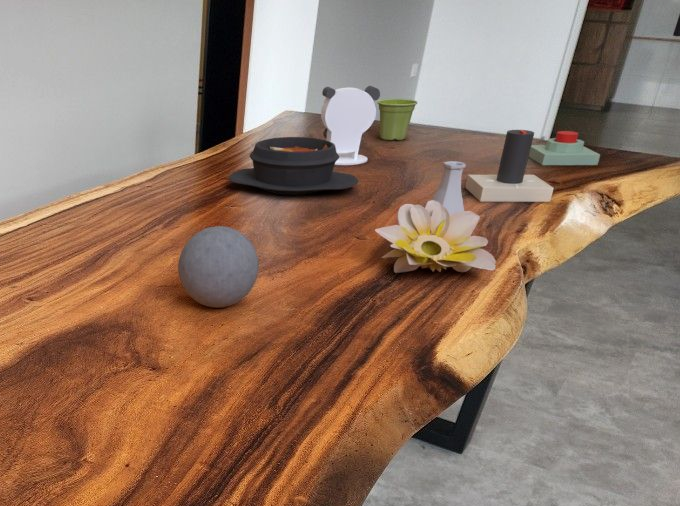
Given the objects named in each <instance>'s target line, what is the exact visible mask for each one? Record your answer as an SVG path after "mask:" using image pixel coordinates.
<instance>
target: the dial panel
mask: <svg viewBox="0 0 680 506" xmlns="http://www.w3.org/2000/svg"><path fill="white" fill-rule="evenodd" d="M497 175H498V174H467V177H466V182H465V186H464V187H465V189H466V190H467V191H468V192H469V193H470V194H471V195H472V196H473V197H475V198H476V200H478V201H479V202H483V203H484V202H485V203H486V202H489V203H491V202H492V203H493V202H494V203H551V200H552V196H553V192H554V189H555V188H554V187H553V186H552V185H550V184H549V183H547V182H545V181H544V180H543V179H541V178H539V176H537V175H535V174H524V178H523V182H521V183H514V184H512V183H503V182H499V181H497V180H496V179H497Z"/></svg>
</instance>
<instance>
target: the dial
mask: <svg viewBox="0 0 680 506" xmlns="http://www.w3.org/2000/svg"><path fill="white" fill-rule="evenodd" d="M534 136H535V132H534V131H533V130H528V129H527V130H526V129H510V130H507V131H506V135H505V139H504V144H503V148H502V153H501V157H500V162H499V165H498V170H497V174H496V175H497V179H496V180H497V181H499V182H503V183H512V184H514V183H521V182H523V178H524V175H526V169H527V165H528V161H529V158H530V157H529V153H530V149H531V145H533V142H534V141H533V140H534Z"/></svg>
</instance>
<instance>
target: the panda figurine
mask: <svg viewBox="0 0 680 506" xmlns="http://www.w3.org/2000/svg"><path fill="white" fill-rule="evenodd" d="M321 94H322V96H323V97H325V99H324V101H323V104H322V107H321V111H320V118H321V122H322V125H323V126H324V127H325V129H324V131H323V133H322V135H323V138H324V139H325V140H326V141H329V142H332V143H334V144H335V148H336V152H337V154H338V155H339V159H338V160H337V161H336V162H335V165H334V166H355V165H361V164H365V163H367V162H368V157H367V156H365V155H363V154H359V150H360V147H361V141H362V136H363V134H364V133H365V132H367V131H368V130H369V129H370V127H371V126H372V125H373V123H374V121H375V120H376V117H377V107H376V104H375V101H379V100H380V97H381V91H380V89H379V88H378V87H375V86H372V85H368V86H366V88H365V89H364V90H363V89H361V88H357V87H349V86H348V87H346V86H345V87H340V88H336V89H334V88H333V87H331V86H326V87H323V89H322V93H321Z"/></svg>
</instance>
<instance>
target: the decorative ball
mask: <svg viewBox="0 0 680 506" xmlns="http://www.w3.org/2000/svg"><path fill="white" fill-rule="evenodd" d="M258 257H259V256H258V253H257V251H256V248H255V246H254V244H253V243H252V241H250V239H249V238H248V237H247V236H246V235H245V234H244V233H243V232H241V231H240V230H237V229H236V228H233V227H229V226H224V225H215V226H209V227H206V228H203V229H201V230H199V231H198V232H196V233H195V234H194V235H192V236H191V237H190V238H189V239H188V240H187V241H186V243H185V244H184V245H183V247H182V250H181V252H180V255H179V258H178V264H177V265H178V266H177V270H178V272H177V273H178V278H179V282H180V283H181V286H182V288H183V290H184V291H185V292H186V294H187V295H188V296H189V297H190V298H191V299H193V301H195V302H196V303H198V304H200V305H203V306H205V307H209V308H216V309H217V308H219V309H220V308H227V307H230V306H233V305H235V304H237V303H239V302H240V301H242V300H243V299H244V298H245V297H247V296H248V294H249V293H250V292H251V291H252V289H253V287H254V286H255V284H256V282H257V279H258V276H259V275H258V274H259V268H260V267H259V264H260V263H259V258H258Z"/></svg>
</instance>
